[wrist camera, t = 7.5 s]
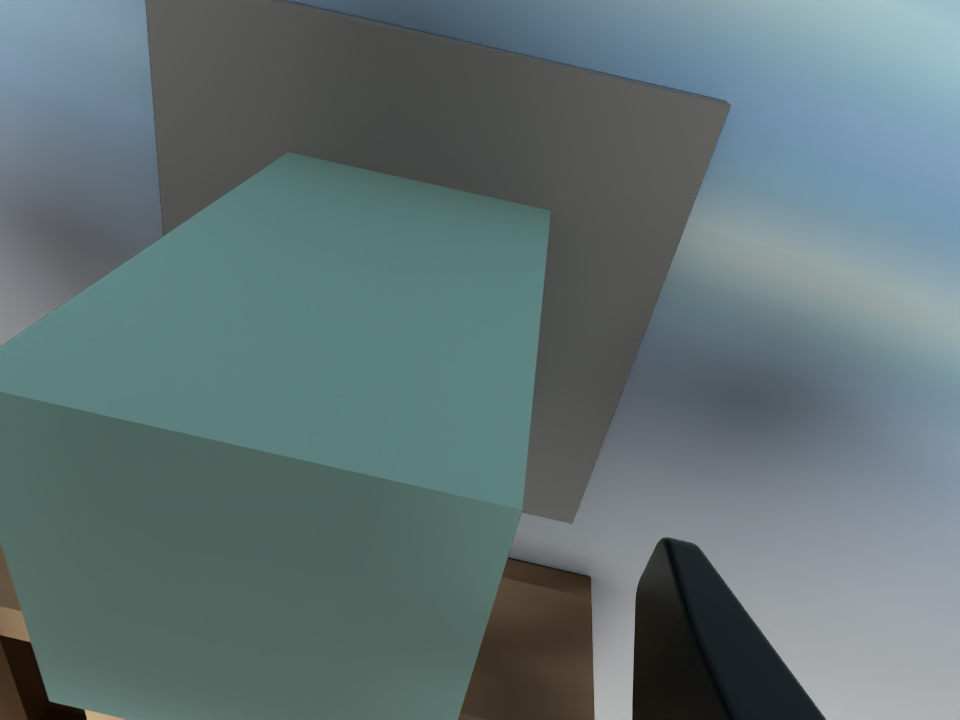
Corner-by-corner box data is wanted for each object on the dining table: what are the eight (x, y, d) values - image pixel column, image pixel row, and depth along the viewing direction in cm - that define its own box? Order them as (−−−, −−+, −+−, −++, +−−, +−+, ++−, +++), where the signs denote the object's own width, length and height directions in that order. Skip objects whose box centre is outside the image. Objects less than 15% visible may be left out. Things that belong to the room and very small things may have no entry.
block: (497, 420, 13) (436, 790, 7) (282, 371, 13) (49, 701, 7) (550, 210, 11) (523, 509, 5) (287, 151, 11) (-50, 380, 5)
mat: (725, 100, 10) (731, 105, 10) (572, 510, 15) (572, 523, 15) (157, -29, 10) (143, -28, 10) (187, 422, 15) (178, 433, 15)
